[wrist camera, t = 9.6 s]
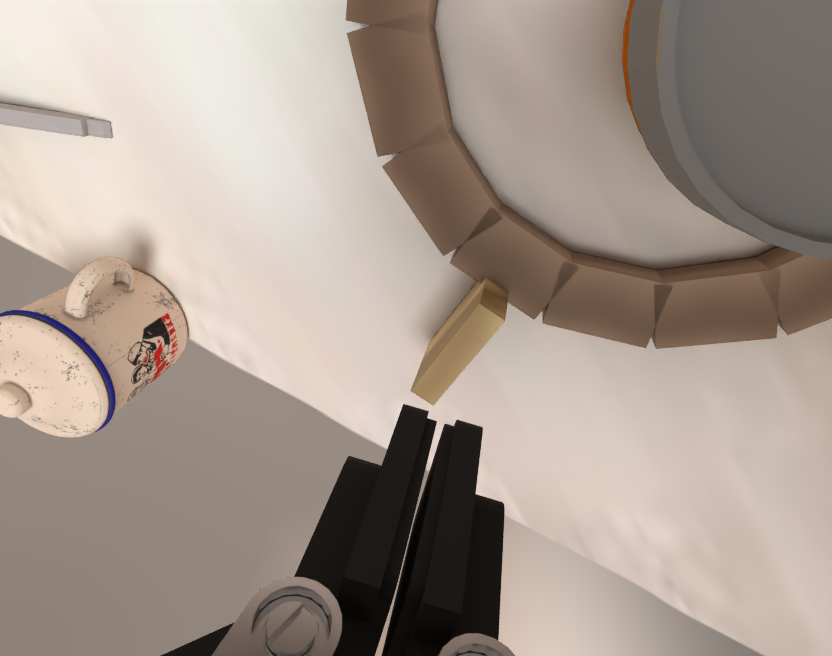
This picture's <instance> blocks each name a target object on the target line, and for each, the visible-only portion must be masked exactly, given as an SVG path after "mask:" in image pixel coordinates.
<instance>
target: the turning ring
mask: <svg viewBox="0 0 832 656" xmlns="http://www.w3.org/2000/svg"><path fill="white" fill-rule="evenodd" d="M437 2H438V0H347V12H346V20H348V21H353V22H358V23H363V24H369V25H373V26H369V27H366V28H363V29H359V30H356V31H352V32H349V33H347V35H348V39H349V43H350V47H351V51H352V56H353V60H354V64H355V68H356V72H357V76H358V80H359V84H360V88H361V92H362V96H363V100H364V104H365V108H366V112H367V116H368V120H369V124H370V128H371V132H372V136H373V140H374V144H375V148H376V152H377V156H378V157H379V156H384V155H389V154H393V153H398V152H401V153H400V154H398V155H397V156H396V157H394V158H393V159H392V160H390V161H389V162H388V163H386V164H385V165H384V166H382V167H383V169H384V170H385V172H386V173H387V175H388V176H389V177H390V179H391V180H392V182H393V183H394V185H395V186H396V188H397V189H398V191H399V192H400V194H401V195H402V196H403V198H404V199H405V201H406V202H407V204H408V205H409V207H410V208H411V210H412V211H413V213H414V214H415V215H416V217H417V218H418V220H419V221H420V223H421V224H422V226H423V227H424V229H425V230H426V232H427V233H428V234H429V236H430V237H431V239H432V240H433V242H434V243H435V245H436V246H437V248H438V249H439V250H440V252H441V253H442V255H443V256H444V255H446V254H447V253H449V252H451V251H452V250H454V249H456V248H457V247H458V248H457V249H456V251H455V252H454V255H453V257H452V259H451V262H450V263H451V264H453V265H454V266H456V267H457V268H459V269H460V270H462V271H463V272H465V273H466V274H467V275H469V276H470V277H472V278H473V279H475V280H476V281H477V282H476V283H475V284H474V286H473V287H472V288H471V290H470V291H469V292H468V293H467V295H466V296H465V297H464V299H463V300H462V301H461V303H460V304H459V305H458V306H457V308H456V309H455V310H454V312H453V313H452V314H451V316H450V317H449V318H448V320H447V321H446V322H445V323H444V325H443V326H442V327H441V329H440V330H439V331H438V333H437V334H436V335H435V336H434V338H433V339H432V340H431V342H430V343H429V345H428V347H427V350H426V352H425V355H424V357H423V360H422V363H421V365H420V368H419V370H418V373H417V375H416V378H415V381H414V383H413V386H412V388H411V392H413V393H415V394H416V395H418V396H419V397H421V398H422V399H424V400H425V401H427V402H428V403H430V404H432V405H434V404H435V403H436V402H437V401H438V399H439V398H440V397H441V396H442V395H443V393H444V392H445V391H446V390H447V389H448V388H449V386H450V385H451V384H452V383H453V382H454V380H455V379H456V378H457V377H458V376H459V375H460V373H461V372H462V371H463V370H464V369H465V367H466V366H467V365H468V364H469V363H470V362H471V360H472V359H473V358H474V357H475V356H476V354H477V353H478V352H479V351H480V350H481V349H482V347H483V346H484V345H485V344H486V343H487V341H488V340H489V339H490V338H491V337H492V336H493V334H494V333H495V332H496V331H497V330H498V328H499V327H500V326H501V325H502V324H503V323H504V321H505V317H506V309H507V302H509V303H510V304H512V305H513V306H515V307H516V308H518V309H519V310H521V311H522V312H524V313H525V314H526V315H528V316H529V317H531V318H532V319H535V318H536V317H537V316H538V315H539V313H540V312H541V311H542V310H543V324H547V325H551V326H556V327H560V328H564V329H568V330H572V331H576V332H581V333H585V334H589V335H593V336H597V337H602V338H606V339H610V340H614V341H618V342H622V343H627V344H631V345H635V346H639V347H643V348H646V346H647V344H648V342H649V340H650V338H651V337H652V340H653V342H654V345H655V347H656V349H659V348H670V347H682V346H693V345H704V344H715V343H726V342H738V341H749V340H760V339H771V338H776V335H777V323H778V325H779V326H780V327H781V328H782V329H783V330H784V331H785V332H786V334H787V335H790V334H792V333H795V332H798V331H800V330H803V329H805V328H808V327H810V326H813V325H815V324H818V323H820V322H823V321H825V320H828V319H830V318H832V259H828V258H821V257H813V256H806V255H803V254H800V253H797V252H794V251H791V250H788V249H785V248H782V247H777V248H775V249H773V250H771V251H769V252H766V253H764V254H762V255H760V256H758V257H756V258H748V259H741V260H733V261H725V262H717V263H710V264H702V265H694V266H687V267H679V268H671V269H663V270H653V269H648V268H644V267H639V266H635V265H630V264H626V263H621V262H617V261H612V260H608V259H603V258H599V257H594V256H590V255H585V254H581V253H576V252H572V251H569V250H568V249H566V248H565V247H564V246H562V245H561V244H559V243H558V242H556V241H555V240H554V239H552V238H551V237H549V236H548V235H546V234H545V233H544V232H542V231H541V230H539V229H538V228H536V227H535V226H534V225H532V224H531V223H529V222H528V221H526V220H525V219H523V218H522V217H521V216H519V215H518V214H516V213H515V212H513V211H512V210H511V209H509V208H508V207H506V206H505V205H503V204H502V203H501V202H500V201H499V199H498V198H497V196H496V194H495V193H494V191H493V190H492V188H491V186H490V185H489V183H488V182H487V180H486V178H485V177H484V175H483V174H482V172H481V170H480V169H479V167H478V166H477V164H476V162H475V161H474V159H473V158H472V156H471V154H470V153H469V151H468V150H467V148H466V146H465V145H464V143H463V142H462V140H461V139H460V137H459V135H458V134H457V132H456V131H455V129H454V127H453V124H452V118H451V113H450V108H449V102H448V97H447V92H446V86H445V81H444V75H443V70H442V65H441V59H440V54H439V49H438V43H437V38H436V32H435V27H434V22H435V15H436V9H437Z"/></svg>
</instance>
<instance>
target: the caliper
mask: <svg viewBox="0 0 832 656" xmlns="http://www.w3.org/2000/svg"><path fill="white" fill-rule="evenodd" d="M0 124H3V125H9V126H16V127H23V128H29V129H36V130H43V131H49V132H56V133H63V134H69V135H76V136H83V137H84V136H88V135H89V136H96V137H103V138H112V131H111V124H110V122H109V121H104V120H97V119H92V118H89V117H84V116H79V115H74V114H69V113H63V112H56V111H49V110H43V109H36V108H29V107H23V106H16V105H10V104H3V103H0Z"/></svg>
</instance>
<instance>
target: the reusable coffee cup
mask: <svg viewBox="0 0 832 656" xmlns="http://www.w3.org/2000/svg"><path fill="white" fill-rule="evenodd" d="M622 64H623V71H624V78H625V85H626V92H627V98H628V102H629V105H630V107H631V110H632V113H633V116H634V118H635V121H636V124H637V127H638V129H639V132H640V133H641V135H642V136H643V139H644V141H645V144H646V147H647V149H648V150H649V152H650V153H651V155H652V156H653V158H654V160H655V161H656V163H657V164H658V166H659V167H660V169H661V170H662V172H663V173H664V175H665V176H666V178H667V179H668V180H669V181H670V182H671V183H672V184H673V185H674V186H675V187H676V188H677V189H678V190H679V191H680V192H681V193H682V194H683V195H684V196H686V197H687V198H688V199H689V200H690V201H691V202H692V203H693V204H694V205H696V206H697V207H699V208H701V209H702V210H704V211H706V212H708V213H709V214H711V215H713V216H714V217H716V218H718V219H719V220H721V221H723V222H725V223H726V224H728V225H730V226H733V227H735V228H737V229H739V230H741V231H743V232H745V233H747V234H749V235H751V236H753V237H755V238H758V239H760V240H762V241H764V242H767V243H770V244H773V245H776V246H779V247H782V248H785V249H788V250H791V251H794V252H797V253H800V254H803V255H806V256H813V257H821V258H828V259H832V0H631V1H630V5H629V9H628V14H627V18H626V22H625V27H624V32H623V51H622Z"/></svg>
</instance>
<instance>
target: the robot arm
mask: <svg viewBox="0 0 832 656" xmlns="http://www.w3.org/2000/svg"><path fill="white" fill-rule="evenodd" d="M428 412H429V411H426V410H422V409H419V408H416V407H412V406H409V405H405V404H403V407H402V410H401V412H400V415H399V418H398V421H397V424H396V427H395V429H394V432H393V435H392V438H391V441H390V444H389V446H388V449H387V452H386V455H385V458H384V461H383V464H382V466H380V465H377V464H374V463H370V462H367V461H364V460H361V459H357V458H354V457H351V456H349V457H348V458H347V460H346V462H345V464H344V466H343V468H342V471H341V473H340V475H339V477H338V479H337V482H336V484H335V486H334V488H333V491H332V493H331V495H330V498H329V500H328V502H327V504H326V507H325V509H324V511H323V513H322V515H321V518H320V520H319V522H318V525H317V527H316V529H315V531H314V533H313V536H312V538H311V540H310V543H309V545H308V547H307V549H306V551H305V554H304V556H303V558H302V560H301V563H300V565H299V567H298V569H297V572H296V574H295V576H294V577H286V578H283V579H279V580H276V581H273V582H271V583H270V584H268V585H267V586H265V587H263V588H262V589H260V590H259V591H258V592H257V594H256V595H255V596H254V597H253V598H252V599H251V600H250V601H249V603H248V604H247V605H246V607H245V608H244V610H243V611H242V613H241V614H240V616H239V617H238V618H237V620H236V621H235V622H234V623H232V624H230V625H228V626H226V627H223V628H221V629H219V630H217V631H215V632H212V633H210V634H208V635H206V636H203V637H201V638H199V639H197V640H195V641H192V642H190V643H188V644H186V645H184V646H181V647H179V648H177V649H175V650H173V651H170V652H168V653H166V654H164V655H161V656H375V653H376V650H377V647H378V643H379V641H380V637H381V634H382V631H383V628H384V625H385V622H386V619H387V616H388V613H389V609H390V606H391V603H392V600H393V597H394V593H395V589H396V586H397V582H398V578H399V574H400V570H401V566H402V562H403V558H404V554H405V550H406V546H407V542H408V538H409V534H410V530H411V525H412V521H413V517H414V513H415V509H416V504H417V501H418V496H419V492H420V488H421V484H422V480H423V476H424V472H425V468H426V464H427V460H428V456H429V452H430V448H431V443H432V439H433V435H434V431H435V427H436V423H437V421H434V420H431V419H428V418H427V416H428ZM482 432H483V428H482V427H480V426H476V425H473V424H470V423H466V422H463V421H460V420H456V423H455V425H454V426H451V425H448V424H445V425H444V427H443V431H442V434H441V437H440V440H439V443H438V446H437V450H436V453H435V456H434V459H433V462H432V465H431V469H430V472H429V475H428V478H427V481H426V484H425V488H424V491H423V494H422V497H421V500H420V503H419V507H418V510H417V513H416V516H415V520H414V524H413V528H412V532H411V536H410V540H409V544H408V548H407V553H406V557H405V561H404V566H403V569H402V573H401V578H400V582H399V586H398V590H397V594H396V598H395V602H394V607H393V611H392V615H391V619H390V623H389V627H388V631H387V636H386V640H385V644H384V648H383V653H382V656H515V655H514V654H513V653H512V652H511V650H510V649H509V648H508V647H506V646H505V645H503V644H502V643H501V642H499V641H498V635H499V614H500V593H501V572H502V552H503V531H504V504H503V503H502V502H499V501H496V500H493V499H489V498H486V497H483V496H479V495H476V494H475V492H476V484H477V475H478V467H479V458H480V449H481V441H482Z"/></svg>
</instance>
